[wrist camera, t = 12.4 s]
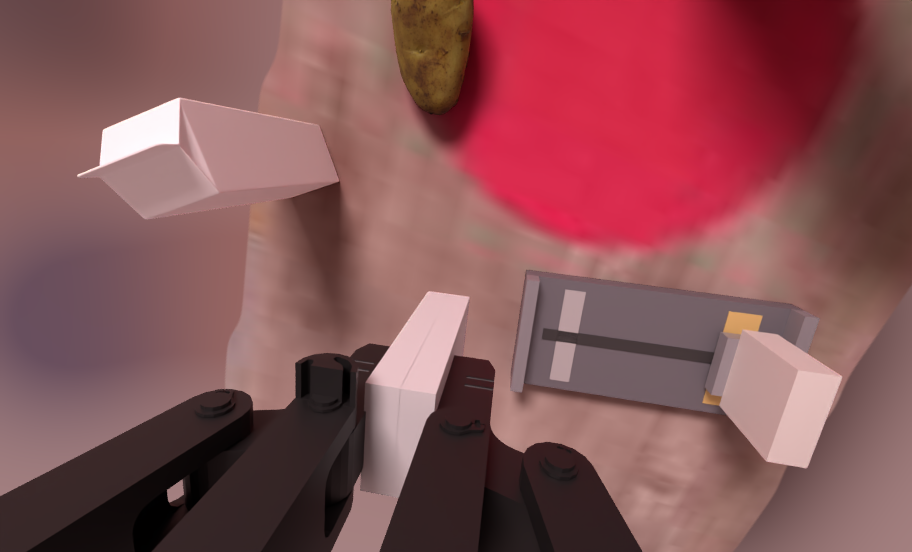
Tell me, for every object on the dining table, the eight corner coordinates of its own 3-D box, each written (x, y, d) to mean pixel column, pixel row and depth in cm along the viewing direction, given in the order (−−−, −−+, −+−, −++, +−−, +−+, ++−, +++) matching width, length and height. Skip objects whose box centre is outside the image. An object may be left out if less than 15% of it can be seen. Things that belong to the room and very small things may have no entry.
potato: (377, 94, 42) (345, 78, 34) (419, -51, 38) (395, -106, 30) (454, 124, 41) (441, 115, 34) (505, -19, 38) (502, -65, 30)
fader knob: (701, 395, 42) (752, 459, 33) (723, 322, 40) (784, 368, 31) (754, 403, 42) (820, 470, 33) (779, 329, 40) (857, 378, 31)
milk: (340, 181, 44) (184, 199, 23) (290, 198, 46) (99, 230, 25) (319, 123, 43) (133, 87, 22) (268, 142, 44) (47, 125, 23)
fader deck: (510, 372, 47) (510, 390, 43) (526, 269, 44) (527, 279, 40) (756, 410, 45) (778, 433, 41) (791, 304, 41) (819, 318, 38)
